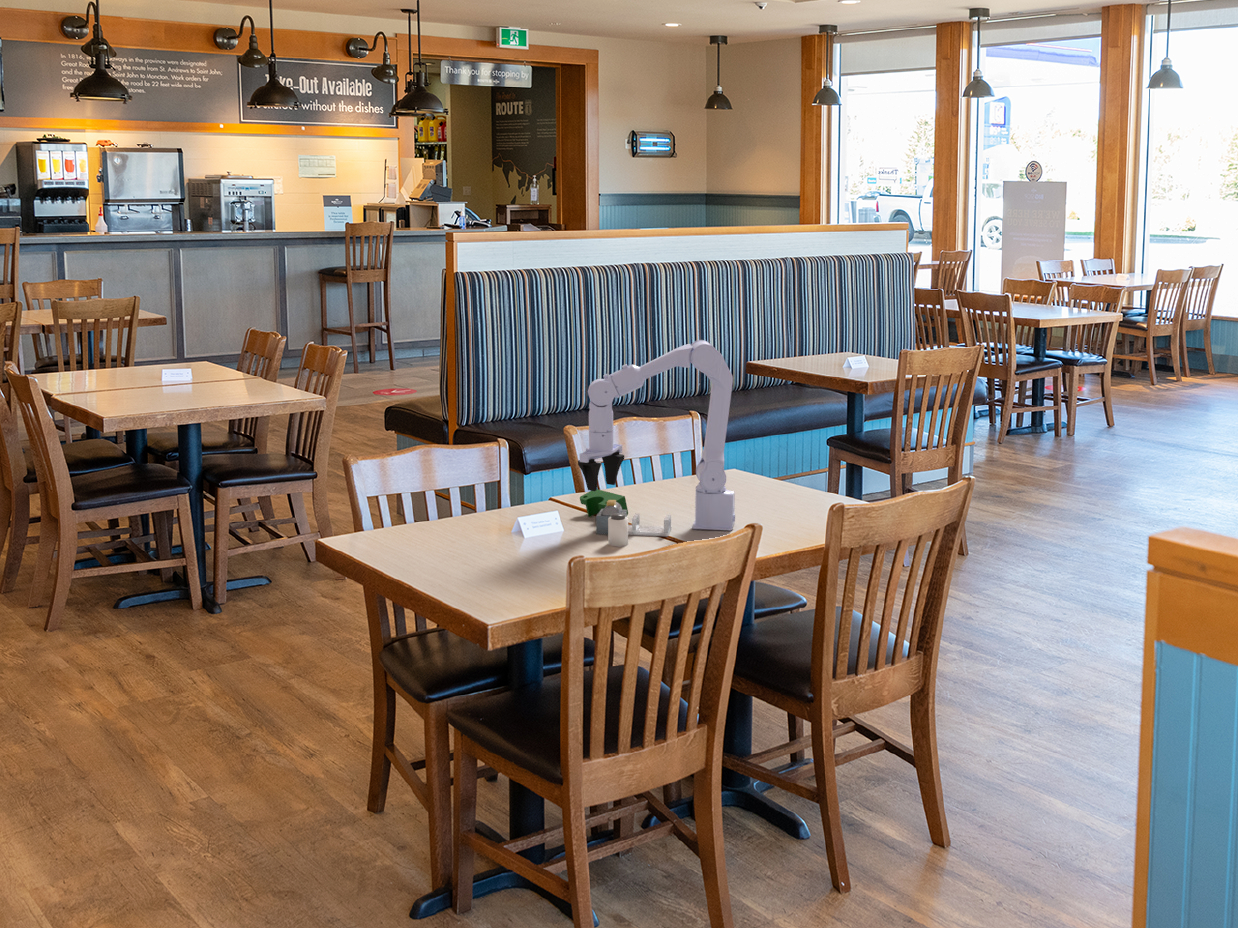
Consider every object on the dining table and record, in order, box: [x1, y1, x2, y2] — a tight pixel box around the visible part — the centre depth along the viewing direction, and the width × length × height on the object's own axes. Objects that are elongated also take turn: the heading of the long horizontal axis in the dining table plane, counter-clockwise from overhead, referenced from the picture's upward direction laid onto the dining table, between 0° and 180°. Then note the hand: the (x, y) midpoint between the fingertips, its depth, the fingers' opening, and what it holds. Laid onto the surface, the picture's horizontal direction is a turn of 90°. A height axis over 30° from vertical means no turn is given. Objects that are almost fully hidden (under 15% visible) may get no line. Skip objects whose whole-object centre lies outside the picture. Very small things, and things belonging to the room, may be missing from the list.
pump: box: [607, 513, 629, 548], centre depth 277 cm, size 4×4×7 cm
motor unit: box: [595, 500, 672, 537], centre depth 287 cm, size 17×7×7 cm, turn 80°
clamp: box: [579, 488, 629, 518], centre depth 302 cm, size 12×6×9 cm, turn 35°
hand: (601, 487), depth 290 cm, fingers open, 7 cm apart
